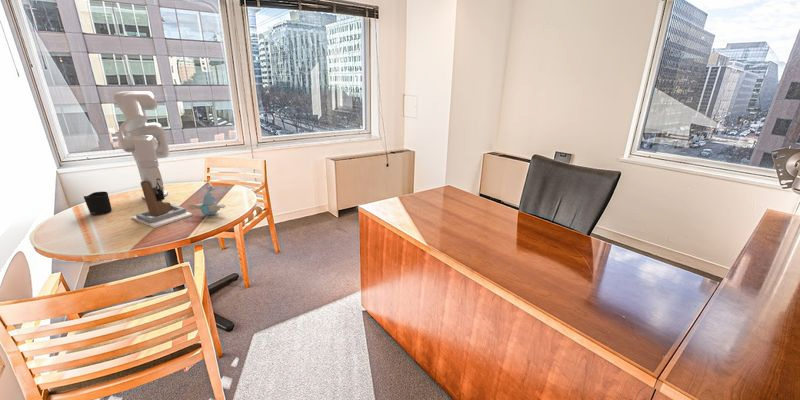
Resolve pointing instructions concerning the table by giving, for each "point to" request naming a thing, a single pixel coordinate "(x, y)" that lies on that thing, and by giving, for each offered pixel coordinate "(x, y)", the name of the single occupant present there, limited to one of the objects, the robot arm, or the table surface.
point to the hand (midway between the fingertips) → (157, 198)
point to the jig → (162, 217)
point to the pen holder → (98, 203)
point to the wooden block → (154, 201)
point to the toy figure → (208, 203)
